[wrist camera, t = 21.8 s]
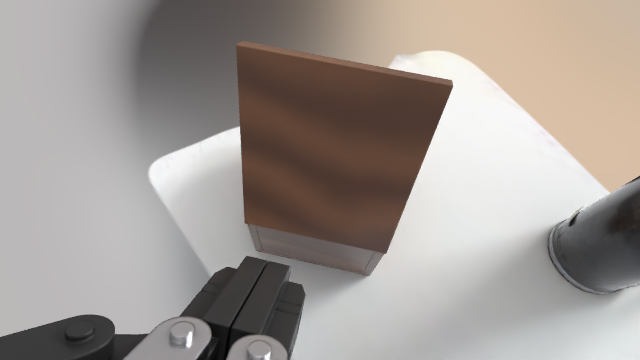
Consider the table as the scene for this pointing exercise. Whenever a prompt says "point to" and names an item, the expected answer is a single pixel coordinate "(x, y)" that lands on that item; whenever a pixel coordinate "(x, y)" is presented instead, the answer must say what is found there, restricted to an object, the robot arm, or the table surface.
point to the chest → (314, 250)
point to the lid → (332, 143)
